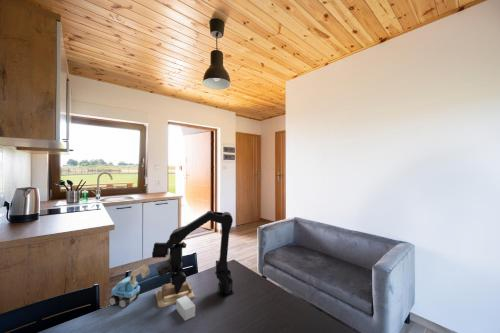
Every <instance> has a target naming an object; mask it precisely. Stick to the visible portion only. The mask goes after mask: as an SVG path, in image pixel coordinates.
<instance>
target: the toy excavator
mask: <svg viewBox="0 0 500 333" xmlns="http://www.w3.org/2000/svg"><path fill="white" fill-rule="evenodd" d="M150 272H151V271H150V267H149V266H148V265H147V264H143V265H141V266H139V268H137V269H135V270H133V271H131V272H130V276H127V277H125V278H123V279H122V280H120V281H119V282H117V283H116V285H115V286H114V287H113V288H112V289H111V293H110V294H111V296H110V297H109V298H108V304H109V305H110V306H116V305H117V304H118V305H119V308H121V309H124V308H126V307H127V306H128V305H130V303H131V302H133V301H134V300H136V299H137V298H138V297H139V296H140V292H141V291H140V290H141V286H140V285H139V282H138V281H137V276H138V275H141V278H142V279H144V278H146V277H147V276H148V275H149V274H150ZM116 303H117V304H116ZM113 304H115V305H113Z"/></svg>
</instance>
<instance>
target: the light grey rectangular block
mask: <svg viewBox="0 0 500 333" xmlns="http://www.w3.org/2000/svg"><path fill="white" fill-rule="evenodd" d="M175 306H176V308H175V310H176V311H177V312H178V314H179V315H180V317H181V318H183V321H188V320H189V319H191V318H193V317H195V316H196V304H194V302H193V301H192V299H189V298H188V297H187V296H184V297H181V298H179V299H176V303H175Z"/></svg>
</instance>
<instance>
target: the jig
mask: <svg viewBox="0 0 500 333" xmlns="http://www.w3.org/2000/svg"><path fill="white" fill-rule="evenodd" d="M184 296H187V297H188V298H189V299H190V300H193V299H195V296H196V295H195V294H194V292H193V289H192V286H191V284H190V283H188V291H184V292H180V293H178V294H172V295H168V296H164V299H163V296H162V289H161V290H160V289H159V290H155V298H156V304H157V308H158V309H160V308H163V307H167V306H168V307H169V306H171V305H172V306H173V305H176V299H179V298H181V297H184Z"/></svg>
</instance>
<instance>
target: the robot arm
mask: <svg viewBox="0 0 500 333" xmlns="http://www.w3.org/2000/svg"><path fill="white" fill-rule="evenodd" d="M210 221H211V222H215V223H217V224H220V227H221V237H220V249H219V257H218V260H215V267H214V274H215V275H216V279H217V280H218V283H217V293H218V294H219V295H220V297H221V298H224V297H226V296H228V297H229V296H231V295H234V293H235V292H234V291H233V282H234V280H233V276H232V271H231V270H230V269H229V267H228V254H229V253H228V250H229V240H230V239H229V238H230V232H231V229H232V225H233V221H234V220H233V216H232V214H231V213H230V212H228V211H225V212H220V211H212V210H208V211H206V212H205V213H204V214H202V215H201V216H199V217H198V218H196V219H193V221H191V222H190V223H188V224H186V225H184V226H180V227H177V228H176V229H174V230H173V231H172V232H171V233H170V235H169V238H168V239H167V241H166V242H155V243H154V244H153V248H152V252H151V253H152V254H151V256H152V259H161V258H162V259H163V258H166V257H167V256H169V257H168V259H167V260H168V261H165V262H164V263H161V264H159V265H158V266H156V269H155V270H156V272H157V274H158V277H159V278H161V277H163V276H165V275H167V274H168V273H169V275H170V283H171V284H172V285H174V287H175V293H176V294H178V293H179V291H180V289H181V287H182V285H183V283H184V282H185V281H187V276H186V273H184V272H183V270H184V269H183V262H184V259H183V249H186V248H187V243H185V241H183V240H185V239H186V238H187V237H188V236H189V235H190V234H191V233H192V232H194V231H196V230H198V229H199V228H200V227H202V226H204V225H205V224H207V223H208V222H210ZM181 271H182V272H181Z"/></svg>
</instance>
